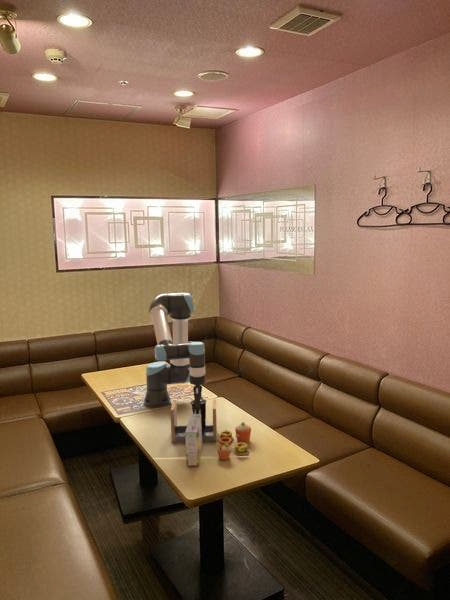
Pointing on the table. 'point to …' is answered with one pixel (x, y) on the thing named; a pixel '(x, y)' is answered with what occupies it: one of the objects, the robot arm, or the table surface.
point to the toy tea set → (240, 448)
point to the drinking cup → (202, 410)
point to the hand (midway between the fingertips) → (198, 418)
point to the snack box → (193, 440)
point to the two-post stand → (179, 431)
